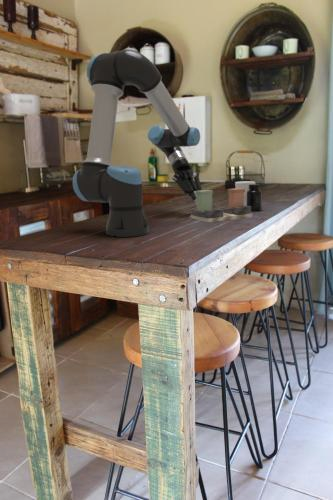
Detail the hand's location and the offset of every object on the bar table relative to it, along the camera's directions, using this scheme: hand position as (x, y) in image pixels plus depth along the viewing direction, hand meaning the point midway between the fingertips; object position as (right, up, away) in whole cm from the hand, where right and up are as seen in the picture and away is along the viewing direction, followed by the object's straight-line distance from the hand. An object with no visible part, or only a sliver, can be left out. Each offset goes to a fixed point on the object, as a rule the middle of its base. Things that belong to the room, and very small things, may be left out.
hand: (200, 204), depth 182 cm
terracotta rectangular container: (+15, -3, +2) cm, 16 cm away
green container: (+2, -4, -2) cm, 5 cm away
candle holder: (+24, +2, +31) cm, 40 cm away
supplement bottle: (+26, -1, +18) cm, 31 cm away
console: (+9, -5, 0) cm, 10 cm away
